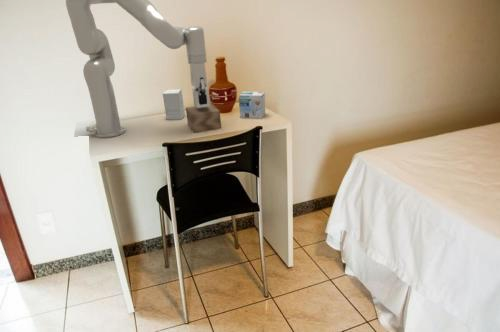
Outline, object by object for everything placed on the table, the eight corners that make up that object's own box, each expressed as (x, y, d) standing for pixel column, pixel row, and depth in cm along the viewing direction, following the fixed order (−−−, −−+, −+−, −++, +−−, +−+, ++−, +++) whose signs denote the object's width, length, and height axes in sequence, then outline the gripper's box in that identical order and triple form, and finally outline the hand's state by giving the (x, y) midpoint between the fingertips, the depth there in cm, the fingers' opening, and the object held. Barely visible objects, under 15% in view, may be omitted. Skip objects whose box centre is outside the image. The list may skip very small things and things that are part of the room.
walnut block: (193, 133, 166) (191, 114, 163) (187, 125, 177) (185, 107, 173) (221, 128, 170) (219, 110, 166) (213, 121, 180) (212, 103, 177)
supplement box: (185, 115, 191) (182, 88, 186) (181, 119, 184) (178, 92, 179) (170, 115, 192) (166, 89, 187) (166, 120, 185) (162, 93, 180)
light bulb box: (239, 117, 182) (238, 94, 178) (244, 113, 188) (242, 91, 183) (262, 118, 179) (261, 95, 175) (265, 114, 185) (265, 91, 180)
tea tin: (197, 108, 166) (195, 91, 163) (194, 104, 171) (192, 88, 168) (210, 106, 168) (208, 89, 165) (206, 103, 172) (205, 87, 170)
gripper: (183, 57, 168) (188, 99, 175) (192, 63, 153) (197, 108, 160) (201, 55, 170) (205, 96, 177) (211, 60, 155) (215, 106, 162)
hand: (201, 102), depth 169 cm, fingers closed on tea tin, 5 cm apart
